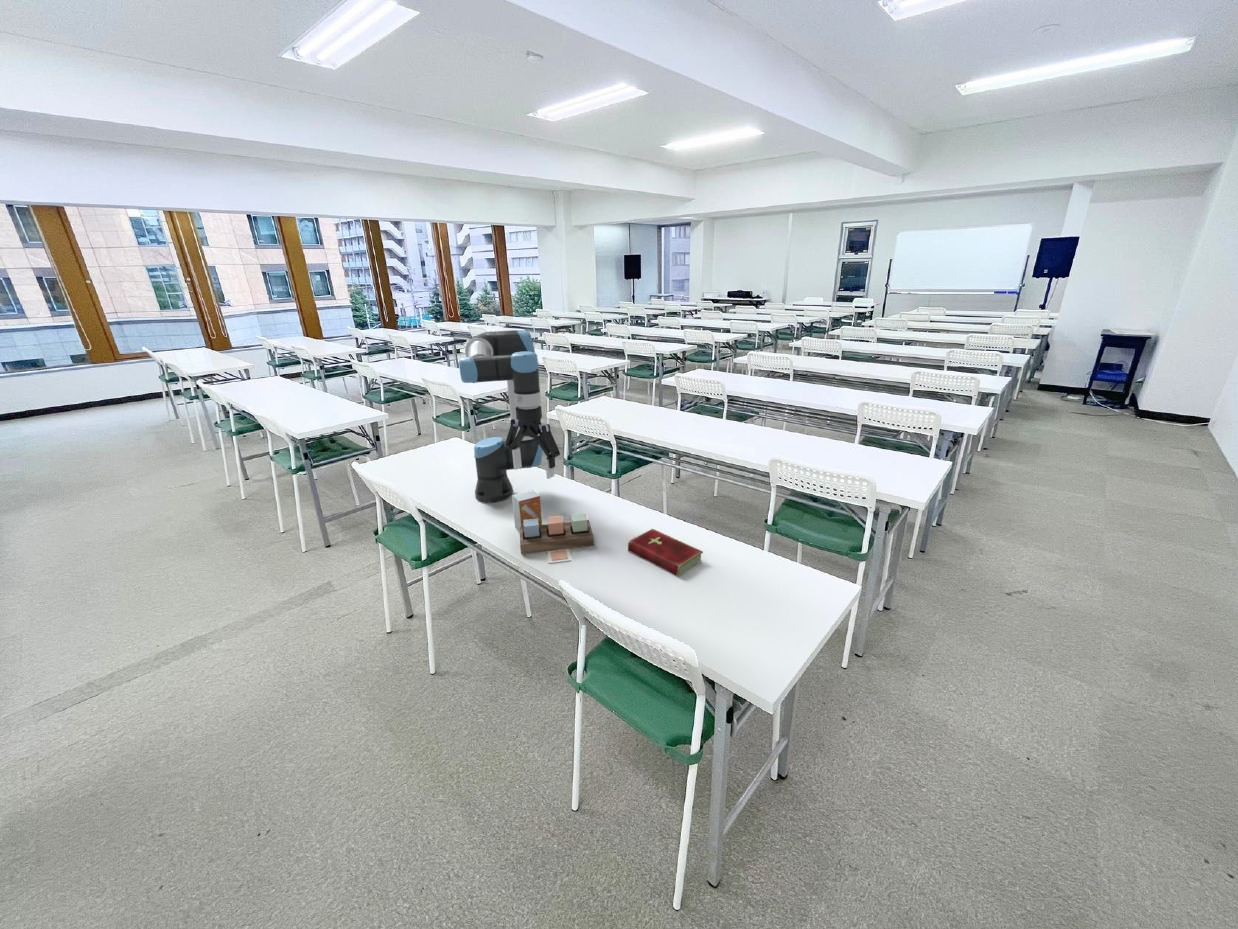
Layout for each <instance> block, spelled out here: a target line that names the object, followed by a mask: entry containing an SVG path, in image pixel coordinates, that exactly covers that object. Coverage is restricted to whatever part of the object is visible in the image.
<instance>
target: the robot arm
mask: <svg viewBox="0 0 1238 929" xmlns="http://www.w3.org/2000/svg"><path fill="white" fill-rule="evenodd" d="M535 350H536V349H535V345H534V342H533V338H532V335H531V333H530V332H529V331H528V330H524V329H521V330H520V329H514V330H512V329H511V330H500V331H499V330H498V331H496V330H495V331H485V332H481V333H479V334H477V335H474V336H473V337H472V338H470V339H469V340H468V341H467V343H466V345H465V350H464V351H465V352H464V354H465V357H461V358H459V359H458V360H459V361H458V366H459V374H460V379H461V382H462V383H464V384H467V383H468V384H476V383H477V384H478V383H488V382H501V381H502V382H504V381H506V384H507V394H508V404H509V405H508V406H509V413H510V415H509V416H510V421H509V422H510V426H509V429H508V433H507V436H506V439H504V438H503V437H500V436H498V437H497V436H493V437H488V438H484V439H481V440H479V441H478V442H476V443H475V445H474V446H473V447H474V448H473V451H474V455H473V456H474V457H473V458H474V460H475V468H476V475H477V476H476V478H477V481H476V485H475V488H474V495H475V499H476V500H478V501H479V502H482V503H483V502H484V503H495V502H497V503H498V502H502V501H504V500H507V499H510V497H512V495H514V488H513V485H512V483H511V481H510V478H509V476H508V473H507V471H510V470H511V471H512V470H515V471H517V470H519V469H531V468H535V467H540V466H541V464H542V462H543V456H544V455H543V454H545V456H546V457H545V460H544V461H545V472H546V479H547V480H549V479H551V478H553V477H555V467H556V460H555V459H556V458H558V457H560V456H561V452H560V450H559V447H558V445H557V443H556V440H555V438H554V436H553V434H552V432H551V431H552V430H551V425H550V424H549V423H546V424H542V422H541V421H542V417H543V412H542V406H541V404H542V397H541V388H540V370H539V369H540V368H539V365H540V364H539V358H538V354H537V353H536V351H535Z"/></svg>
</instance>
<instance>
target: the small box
mask: <svg viewBox="0 0 1238 929" xmlns="http://www.w3.org/2000/svg"><path fill="white" fill-rule="evenodd" d="M511 500H512V508H513V510H512V512H513V520H514V528H515V529H516V531H518V532H519V533H520V527H524V522H523V520H527V519H537V518H538V524H539V525H543V520H542V518H543V516H542V507H541V506H542V505H541V495H539V494H538V493H537V492H536V491H535V490H533V489H532V490H531V489H530V490H528V491H523V492H519V493H516V494H512V496H511Z"/></svg>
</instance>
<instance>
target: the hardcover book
mask: <svg viewBox="0 0 1238 929" xmlns="http://www.w3.org/2000/svg"><path fill="white" fill-rule="evenodd" d="M627 551H628V552H630V553H631V554H633V555H636V556H638V557H639V558H641V559H644V560H645V561H647V562H649V563H650V564H652V565H653V564H654V565H655V566H657V567H659V568H661V569H662V570H664V571H667V572H669V573H671V574H673V575H674V576H676V577H679V578H680V576H681V575H682V574H683V573H685V572H687V571H688V570H689V569H691V568H692V567H694V566H696V565H697V564H698V562H699V561H700V562H701V561H702V554H703V553H704V551H702V550H701V549H698V548H696V547H694V546H692V545H690V544H687V543H685V542H683V541H680V540H679V539H677V538H674V537H672V536H670V535H668V534H665V533H663V532H661V531H658V530H656V529H655V528H651V529H649V530H647V531H645V532H643V533H642V534H640V535H638V536H635V537H634V538H632V539H630V540H628V542H627ZM700 562H699V563H700ZM696 563H697V564H696Z"/></svg>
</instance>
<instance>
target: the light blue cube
mask: <svg viewBox="0 0 1238 929" xmlns="http://www.w3.org/2000/svg"><path fill="white" fill-rule="evenodd" d="M523 522H524V535H525V537H535V536H539V524H538V518H537V519H527V520H523Z"/></svg>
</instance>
